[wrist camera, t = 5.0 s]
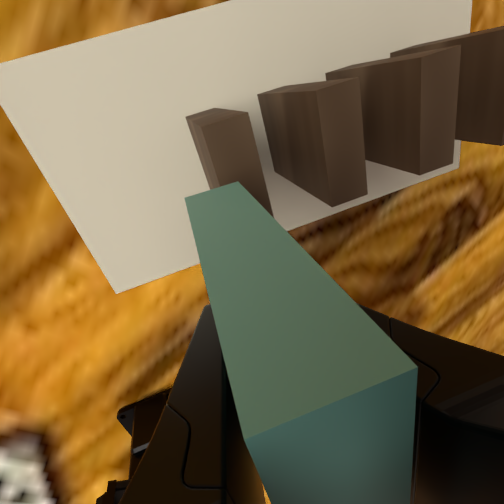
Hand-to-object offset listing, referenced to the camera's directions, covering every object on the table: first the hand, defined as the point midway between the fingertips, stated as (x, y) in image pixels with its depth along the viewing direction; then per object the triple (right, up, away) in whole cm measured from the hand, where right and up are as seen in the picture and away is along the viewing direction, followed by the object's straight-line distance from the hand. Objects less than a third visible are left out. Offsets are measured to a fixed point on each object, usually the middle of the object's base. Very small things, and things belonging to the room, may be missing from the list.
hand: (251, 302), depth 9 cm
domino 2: (+2, +9, +11) cm, 14 cm away
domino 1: (-2, +8, +10) cm, 13 cm away
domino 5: (+10, +12, +12) cm, 20 cm away
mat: (+2, +9, +11) cm, 14 cm away
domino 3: (-1, +1, +2) cm, 3 cm away
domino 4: (+6, +11, +11) cm, 17 cm away
